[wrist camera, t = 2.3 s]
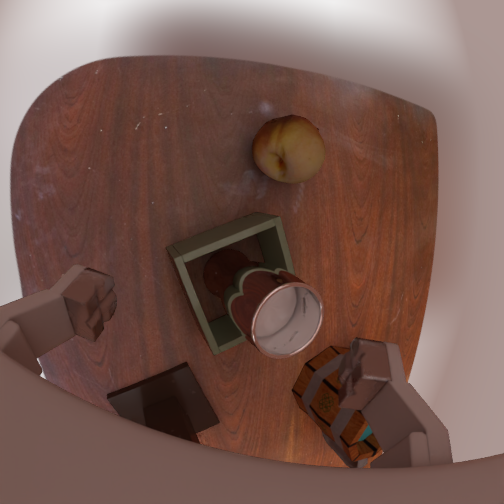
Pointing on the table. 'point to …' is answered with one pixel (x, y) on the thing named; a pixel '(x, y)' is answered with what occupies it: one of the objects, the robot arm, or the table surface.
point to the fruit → (289, 149)
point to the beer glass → (265, 303)
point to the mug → (334, 409)
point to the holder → (264, 225)
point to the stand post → (167, 404)
